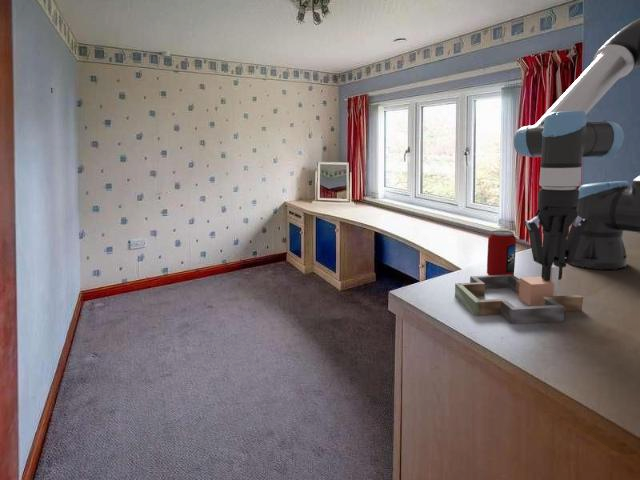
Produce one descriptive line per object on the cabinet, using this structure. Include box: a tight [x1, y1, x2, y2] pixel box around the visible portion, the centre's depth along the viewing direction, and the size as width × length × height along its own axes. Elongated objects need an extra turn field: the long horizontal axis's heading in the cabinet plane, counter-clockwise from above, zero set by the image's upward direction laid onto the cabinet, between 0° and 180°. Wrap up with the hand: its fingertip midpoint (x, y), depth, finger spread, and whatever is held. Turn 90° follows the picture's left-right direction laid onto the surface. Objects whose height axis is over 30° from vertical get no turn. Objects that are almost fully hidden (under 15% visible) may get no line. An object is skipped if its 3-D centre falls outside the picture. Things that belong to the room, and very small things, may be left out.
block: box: [518, 276, 554, 306], centre depth 94 cm, size 5×5×5 cm
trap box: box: [454, 274, 584, 325], centre depth 94 cm, size 23×22×3 cm
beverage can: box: [486, 229, 517, 276], centre depth 112 cm, size 7×7×12 cm
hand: (550, 293), depth 94 cm, fingers closed
